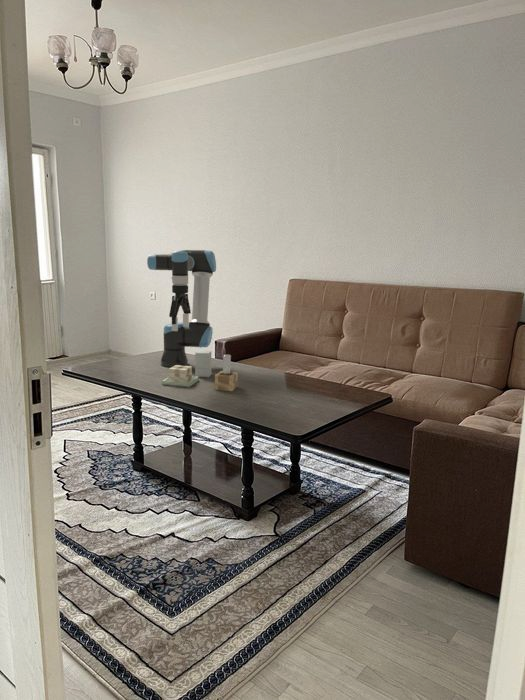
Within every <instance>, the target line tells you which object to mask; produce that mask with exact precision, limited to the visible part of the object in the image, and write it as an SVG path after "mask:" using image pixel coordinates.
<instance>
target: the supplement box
mask: <svg viewBox="0 0 525 700" xmlns="http://www.w3.org/2000/svg"><path fill="white" fill-rule="evenodd" d="M194 358H195V359H194V360H195V361H194V362H195V364H194V365H195V367H194V369H195V370H194V371H195V375H194V376H196V377H200V378H210V377H211V375H212V350H203V349H200V350H199V349H198V350H196V352H195V353H194Z"/></svg>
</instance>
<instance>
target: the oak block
mask: <svg viewBox="0 0 525 700" xmlns="http://www.w3.org/2000/svg"><path fill="white" fill-rule="evenodd" d="M238 374H239V373H238V372H236V371H230V376H228V375H223V370H220V371H218V372H217V373H216V374H214V390H215V391H216V390H218V391H225V392H228V391H229V392H233V391H234V390H235V389H236V388H238V379H239V378H238Z"/></svg>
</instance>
